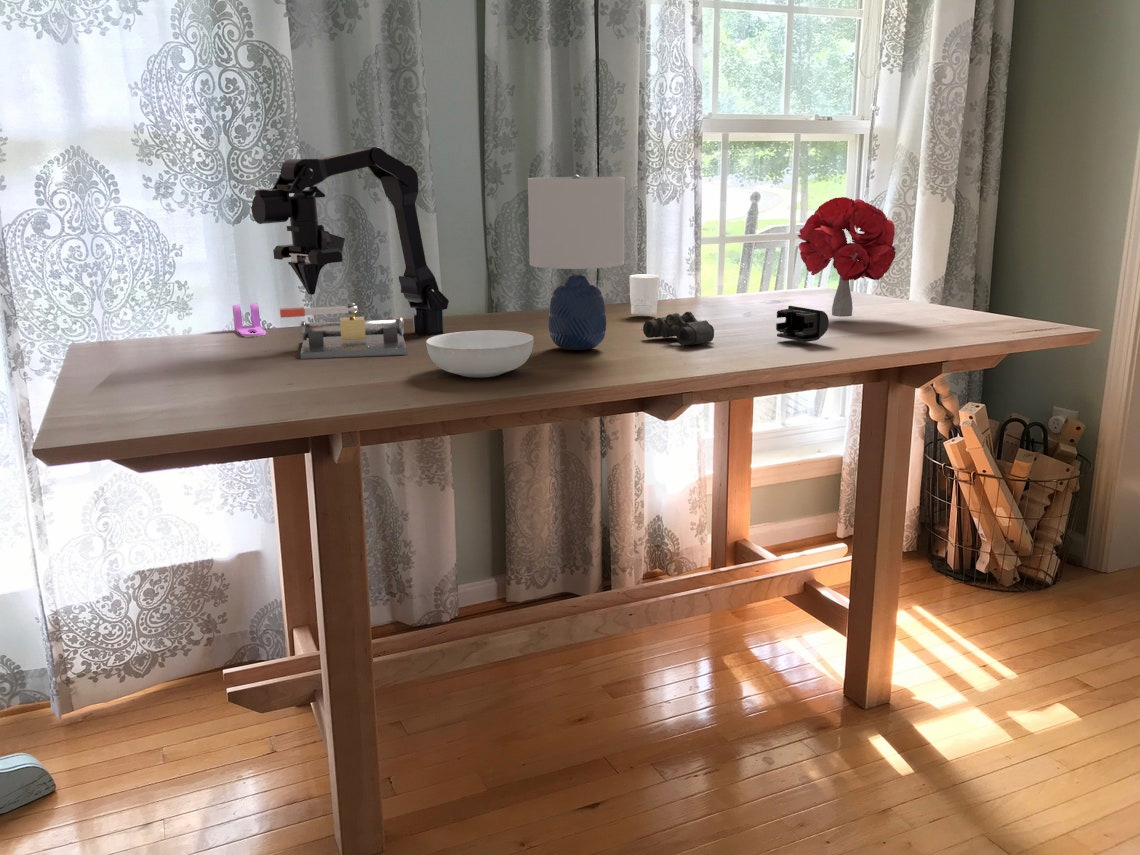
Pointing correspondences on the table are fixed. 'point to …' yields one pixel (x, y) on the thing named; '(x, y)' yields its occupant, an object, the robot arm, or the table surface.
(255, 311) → the bracket
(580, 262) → the lamp
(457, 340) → the serving bowl
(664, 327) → the binoculars
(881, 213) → the bouquet
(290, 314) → the lever
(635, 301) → the white cup
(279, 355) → the table surface
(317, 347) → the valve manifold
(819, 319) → the end cap
